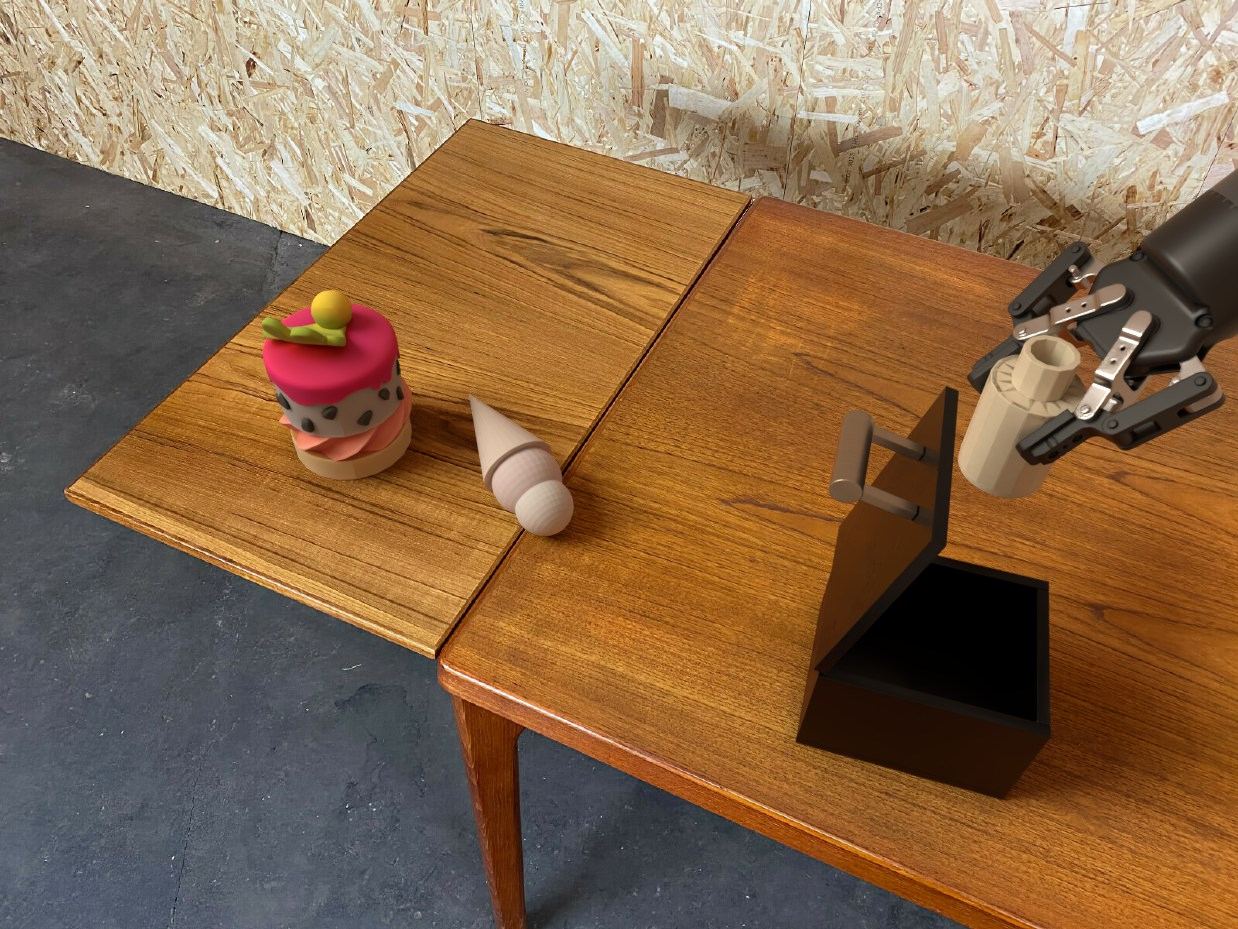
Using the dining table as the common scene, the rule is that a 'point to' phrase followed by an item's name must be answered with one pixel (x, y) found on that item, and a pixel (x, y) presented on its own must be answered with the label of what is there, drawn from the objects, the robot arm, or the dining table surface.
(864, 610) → the bin lid
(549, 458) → the ice cream cone
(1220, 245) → the robot arm
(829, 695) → the bin
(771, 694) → the dining table surface
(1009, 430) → the bottle
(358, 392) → the cake
